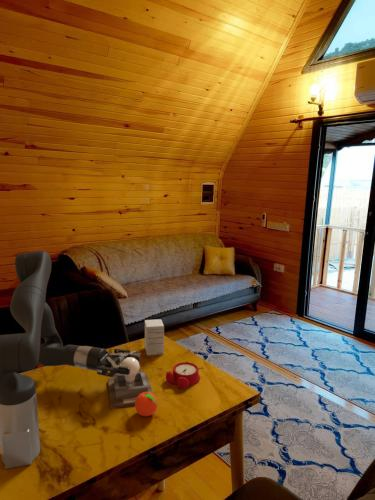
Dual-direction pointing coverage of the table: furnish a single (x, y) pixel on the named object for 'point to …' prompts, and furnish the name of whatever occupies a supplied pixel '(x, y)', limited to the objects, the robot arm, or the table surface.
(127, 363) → the lightbulb
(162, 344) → the supplement box
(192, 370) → the alarm clock
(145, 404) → the clementine
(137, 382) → the socket stand
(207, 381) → the table surface
